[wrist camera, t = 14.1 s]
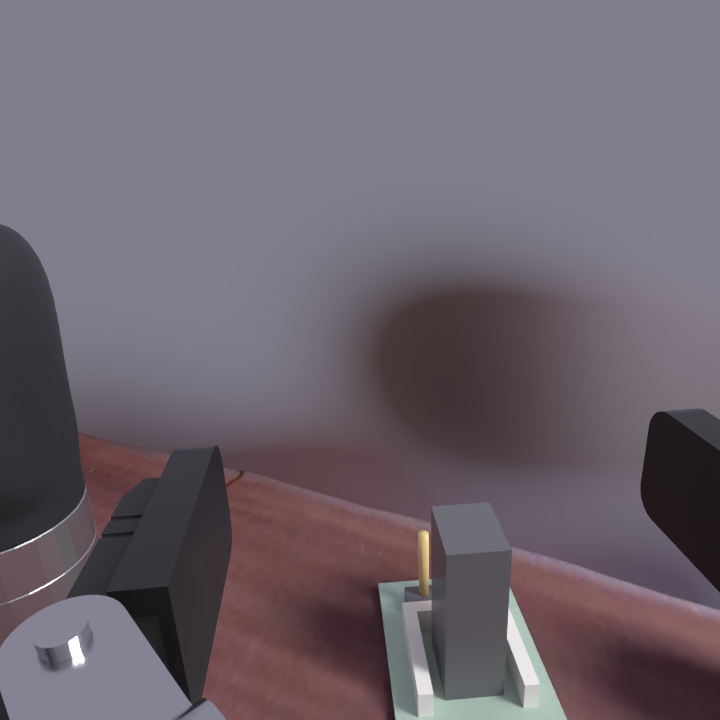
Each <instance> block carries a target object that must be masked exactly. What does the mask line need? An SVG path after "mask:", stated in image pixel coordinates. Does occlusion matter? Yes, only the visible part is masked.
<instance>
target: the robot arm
mask: <svg viewBox="0 0 720 720" xmlns="http://www.w3.org/2000/svg"><path fill="white" fill-rule="evenodd" d="M641 498H642V502H643V505H644V508H645V510H646V512H647V514H648V515H649V517H650V518H651V520H652V521H653V522H654V523H655V524H656V525H657V526H658V527H659V528H660V529H661V530H662V531H663V532H664V533H665V535H666V536H668V538H669V539H670V540H671V541H672V542H673V543H674V544H675V545H676V546H677V547H678V548H679V549H680V550H681V552H682V553H683V554H684V555H685V556H686V557H688V559H689V560H690V561H691V562H692V563H693V564H694V565H695V567H696V568H697V569H698V570H699V571H700V572H701V573H702V574H703V575H704V576H705V577H706V578H707V579H708V580H709V581H710V583H712V585H713V586H714V587H715V588H716V589H717V590H718V591H719V592H720V420H719V419H718V418H716V417H714V416H713V415H711V414H710V413H708V412H707V411H705V410H702V409H686V410H674V411H660V412H657V413H656V414H654V416H653V417H652V419H651V421H650V424H649V430H648V437H647V445H646V452H645V458H644V465H643V472H642V479H641ZM101 535H102V538H101V539H99V536H98V532H97V528H96V524H95V521H94V517H93V513H92V509H91V505H90V501H89V497H88V493H87V489H86V485H85V480H84V476H83V472H82V468H81V461H80V449H79V437H78V428H77V421H76V415H75V411H74V406H73V402H72V398H71V392H70V388H69V382H68V377H67V371H66V366H65V360H64V354H63V348H62V342H61V336H60V330H59V324H58V318H57V313H56V309H55V304H54V299H53V295H52V292H51V288H50V285H49V282H48V278H47V276H46V273H45V271H44V269H43V266H42V264H41V262H40V260H39V258H38V256H37V255H36V253H35V252H34V250H33V249H32V247H31V246H30V244H29V243H28V242H27V241H26V240H25V239H24V238H23V237H22V236H21V235H20V234H19V233H17V232H16V231H14V230H13V229H11V228H9V227H7V226H4V225H0V720H226V719H225V718H224V717H223V715H222V714H221V713H220V711H219V710H218V709H217V708H216V707H215V706H214V704H213V703H211V702H210V701H209V700H207V699H205V698H203V699H201V698H202V693H203V688H204V684H205V679H206V674H207V669H208V664H209V659H210V654H211V649H212V644H213V639H214V634H215V629H216V624H217V620H218V615H219V610H220V605H221V600H222V595H223V590H224V585H225V580H226V575H227V570H228V565H229V560H230V555H231V546H232V528H231V518H230V511H229V504H228V497H227V490H226V484H225V477H224V470H223V463H222V458H221V453H220V449H219V447H218V446H217V445H216V446H203V447H190V448H177V449H174V450H173V452H172V454H171V456H170V458H169V460H168V462H167V465H166V467H165V469H164V471H163V473H162V475H161V477H160V478H150V479H143V480H142V481H141V482H140V483H139V484H137V485H136V486H135V487H134V488H133V489H131V490H130V491H129V492H128V493H127V494H125V495H124V496H123V497H122V498H121V500H120V502H119V504H118V506H117V507H116V509H115V511H114V513H113V515H112V516H111V521H109V522H108V524H107V525H106V527H105V529H104V531H103V533H102V534H101Z"/></svg>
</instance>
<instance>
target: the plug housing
mask: <svg viewBox="0 0 720 720" xmlns="http://www.w3.org/2000/svg"><path fill="white" fill-rule="evenodd" d="M431 517H432V518H431V556H432V644H433V649H434V653H435V658H436V662H437V667H438V671H439V676H440V680H441V684H442V689H443V693H444V698H445V701H447V700H457V699H468V698H479V697H490V696H501V695H504V678H505V661H506V644H507V626H508V609H509V592H510V575H511V557H512V549H511V547H510V545H509V543H508V541H507V539H506V537H505V535H504V533H503V530H502V528H501V526H500V524H499V522H498V520H497V518H496V516H495V514H494V512H493V510H492V508H491V506H490V503H489V502H487V503H474V504H460V505H448V506H434V507H431Z"/></svg>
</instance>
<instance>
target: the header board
mask: <svg viewBox="0 0 720 720" xmlns="http://www.w3.org/2000/svg"><path fill="white" fill-rule="evenodd" d="M418 554H419V580H416V581H403V582H391V583H378V586H379V596H380V604H381V612H382V620H383V628H384V636H385V643H386V651H387V659H388V667H389V675H390V683H391V691H392V699H393V707H394V715H395V720H567V719H566V716H565V714H564V712H563V709H562V707H561V705H560V702H559V700H558V698H557V695H556V693H555V691H554V688H553V686H552V684H551V682H550V679H549V677H548V675H547V672H546V670H545V668H544V665H543V663H542V661H541V658H540V656H539V654H538V651H537V649H536V647H535V644H534V642H533V640H532V637H531V635H530V633H529V630H528V628H527V626H526V623H525V621H524V619H523V616H522V614H521V612H520V610H519V607H518V605H517V603H516V600H515V598H514V596H513V593H512V591H511V589H510V592H509V609H508V626H507V644H506V661H505V678H504V695H501V696H490V697H479V698H468V699H457V700H447V701H445V698H444V693H443V689H442V684H441V680H440V676H439V671H438V667H437V662H436V658H435V653H434V649H433V644H432V579H429V533H428V532H427V531H425V530H421V531H419V532H418Z"/></svg>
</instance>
